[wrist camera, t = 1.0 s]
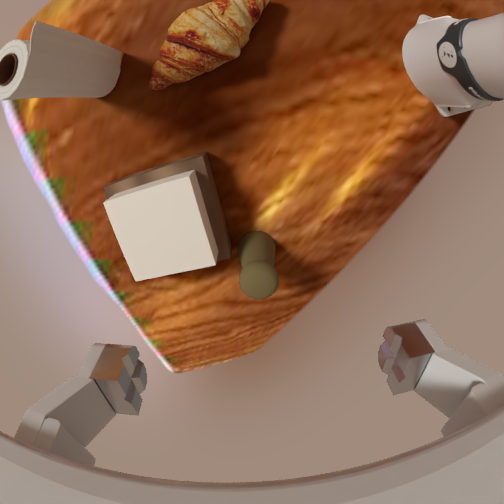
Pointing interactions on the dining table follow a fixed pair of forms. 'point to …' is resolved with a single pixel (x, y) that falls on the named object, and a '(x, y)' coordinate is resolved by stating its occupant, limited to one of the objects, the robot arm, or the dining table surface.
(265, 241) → the olive green pawn
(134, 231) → the tower top block
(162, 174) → the tower base block
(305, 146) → the dining table surface
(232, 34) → the croissant
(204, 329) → the dining table surface
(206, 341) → the dining table surface
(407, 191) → the dining table surface
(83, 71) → the paper towel roll
